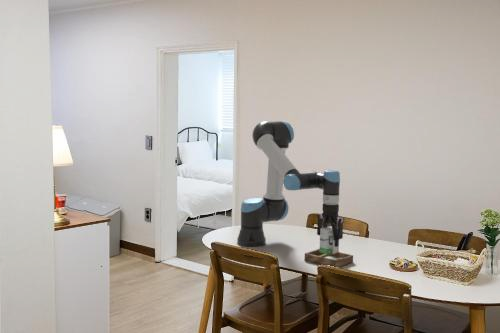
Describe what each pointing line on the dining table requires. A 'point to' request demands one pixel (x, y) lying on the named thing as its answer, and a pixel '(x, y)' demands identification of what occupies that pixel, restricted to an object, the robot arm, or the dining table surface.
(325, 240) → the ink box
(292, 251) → the dining table surface
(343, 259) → the walled box
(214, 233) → the dining table surface
